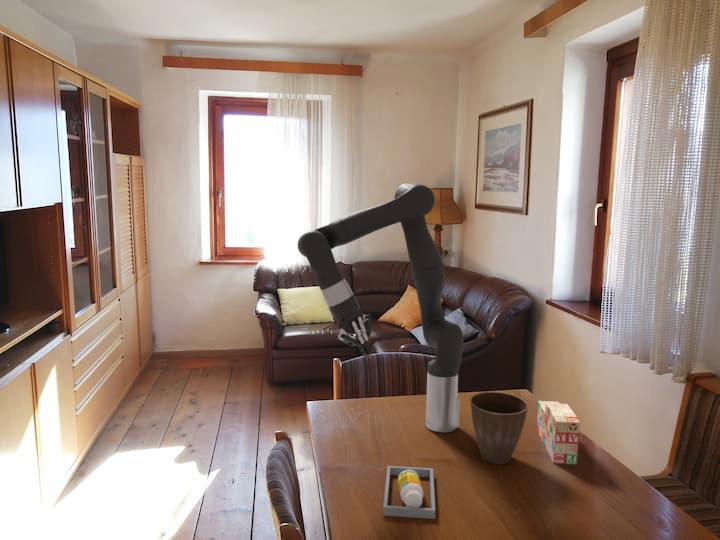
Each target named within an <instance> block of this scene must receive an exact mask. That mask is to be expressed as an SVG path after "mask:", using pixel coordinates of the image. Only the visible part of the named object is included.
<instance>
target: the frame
mask: <svg viewBox="0 0 720 540" xmlns="http://www.w3.org/2000/svg"><path fill="white" fill-rule="evenodd" d="M405 470H413V471H415V472H416V473H417V474H418V476H419V478H420V477H421V478H429V489H430V490H429V491H430V492H429V493H430V494H429V495H430V507H419V508H418V507H407V506H403V505H402V506H399V505H388V503H389V493H390V485H391V484H390V483H391V482H390V479H391V476H399V475H400V473H401V472H403V471H405ZM434 481H435V479H434V468H430V467H417V466H416V467H414V466H413V467H412V466H400V465H399V466H397V465H396V466H395V465H387V467H386V477H385V486H384V495H383V507H382V516H386V517H398V518H399V517H401V518H403V517H404V518H414V519H417V518H418V519H426V520H427V519H428V520H431V519H432V520H435V519H436V499H435V495H436V494H435V482H434Z"/></svg>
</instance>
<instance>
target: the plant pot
mask: <svg viewBox="0 0 720 540" xmlns="http://www.w3.org/2000/svg"><path fill="white" fill-rule="evenodd" d="M528 407H529V405H528V402H526V401H525V399H523V398H521V397H518V396H516V395H514V394H510V393H505V392H499V391H498V392H497V391H485V392H480V393H476V394H474V395H472V396H471V398H470V408H471V409H470V411H471V418H472V426H473V429H474V434H475V439H476V442H477V447H478V449H479V452H480V455H481V458H482V459H483V460H484V461H486V462H487V463H490V464H493V465H504V464H507V463H509V461H510V460H511V458H512V456H513V454H514V452H515V449H516V448H517V445H518V443H519V441H520V437H521V434H522V431H523V428H524V424H525V422H526V418H527V413H528V410H529V408H528Z"/></svg>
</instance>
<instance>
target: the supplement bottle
mask: <svg viewBox="0 0 720 540" xmlns="http://www.w3.org/2000/svg"><path fill="white" fill-rule="evenodd" d="M397 485H398V490H399V496H400V500H401V501H402V502H403V503H404V505H405V507H418V508H421V506H422V504H423V499H424V490H423V486H422V484H421V479H420V477H419V476H418V474H417V473H416V472H415V471H413V470H405V471H403V472H401V473H400V475H398V477H397Z"/></svg>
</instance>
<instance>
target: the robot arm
mask: <svg viewBox="0 0 720 540" xmlns="http://www.w3.org/2000/svg"><path fill="white" fill-rule="evenodd" d="M435 201H436V200H435V194H434V191H432V189H431V188H429V187H428V186H427V185H425V184H421V183H411V182H407V183H403V184H400V186H398V187H397V189H396V190H395V193H394V198H393V199H392V200H390V201H387V202H386V203H385V202H384V203H383V204H382V203H381V204H380V205H376V206H372V207H368V208H364V209H361V210H358V211H355V212H352V213H349V214H347V215H344V216H342V217H340V218H337V219H336V220H333V221H332V222H330V223H329V224H327V225H323V226H320V227H317V228H315V229H312V230H310V231H307V232H305V233H303V234H302V235H300V237H299V238H298V241H297V249H298V252H299V253H300V254H301V255H302V256H303V257H305V258H306V259H307V261H308V263H309V266H310V267H311V269H312V271H313V277H314V279H315V281H316V284H317V285H318V287H319V289H320V292H321V293H322V297H323V299H324V301H325V303H326V304H327V306H328V308H329V310H330V312H331V314H332V317H333V318H334V320H335V321H336V322H337V323H338V328H339V333H338V334H337V335H336V339H337V340H339V341H340V342H342V343H344V344H347V345H348V346H350V347H356V346H357V348H358V349H359V351H360V353H361V355H362V356H365V357H369V356H371V355H372V354H373V348H372V346H371V344H370V342H369V337H370V336H371V335H372V320H373V318H372V314H366V313H365V314H364V313H363V311H361V310H360V309H361V308H360V304H359V302H358V300H357V298H356V297H355V295H354V293H353V291H352V289H351V287H350V284H348V282H347V281H346V279H345V277H344V275H343V273H342V271H341V269H340V267H339V266H338V264H337V262H336V260H335V259H336V258H335V257H334V254H333V251H332V250H333V249H334V248H337V247H340V246H344V245H347V244H349V243H352V242H354V241H356V240H359V239H360V238H363V237H365V236H367V235H370V234H372V233H374V232H377V231H379V230H382V229H383V228H386V227H389V226H392V225H396V224H399V223H400V224H401V225H400V226H401V229H402V230H403V234H404V240H405V245H406V250H407V253H408V258H409V264H410V269H411V274H412V278H413V282H414V285H415V286H414V287H415V291H416V295H417V299H418V305H419V309H420V310H419V312H420V318H421V327H422V335H423V339H424V341H425V343H426V345H428V346H429V347H431V348H433V349H434V350H436V353H435V359H433V360H430V361H428V364H427V371H426V372H427V374H426V376H427V377H426V407H425V408H426V410H425V411H426V412H425V426H426V428H427V429H429V430H431V431H432V432H438V433H449V432H453V431H454V430H455V431H456V429H457V428H458V429H459V427H460V411H461V410H460V406H461V405H460V404H461V398H460V396H458V391H459V389H458V388H459V387H458V385H459V383H458V382H459V369H460V366H461V364H462V359H463V358H462V357H463V348H464V346H463V345H464V334H463V330H462V328H461V327H460V325H459V324H457V323H454V322H452V321H449V320H446V317H445V315H444V311H443V307H442V295H443V291H444V288H445V283H446V274H445V269H444V264H443V260H442V256H441V254H440V251H439V249H438V246H437V245H436V244H437V243H435V241H434V239H433V237H432V236H431V232H430V230H429V227H428V225H427V221H426V215H428V214H430V212H431V211H432V210H433V208H434V207H435V206H434V205H435V203H436V202H435Z"/></svg>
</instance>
